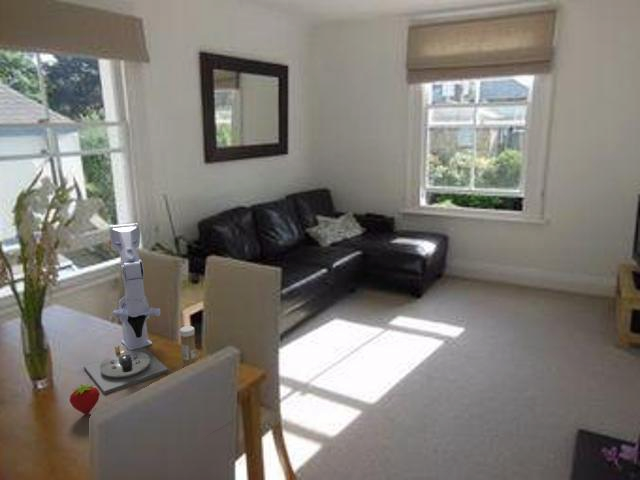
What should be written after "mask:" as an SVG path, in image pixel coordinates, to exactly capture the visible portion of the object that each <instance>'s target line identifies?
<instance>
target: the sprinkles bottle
mask: <svg viewBox="0 0 640 480" xmlns="http://www.w3.org/2000/svg"><path fill="white" fill-rule="evenodd" d="M179 334H180V342H181V345H180V346H181V354H182V355H181V357H182V367H183V368H184V367H185V366H188V365H190V364H192V363H195V362H196V363H197V352H196V342H195V341H196V340H195V339H196V338H195V327H194V326H192V325H185V326H183V327H181V328H180V329H179Z"/></svg>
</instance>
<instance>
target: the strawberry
mask: <svg viewBox="0 0 640 480" xmlns="http://www.w3.org/2000/svg"><path fill="white" fill-rule="evenodd" d="M72 391H73V392H71V394H70V396H69V403H70V404H71V406H72V407H73V408H74V409H75V410H77V411H78V412H80V413H82V414H84V415H88V414H89V413H91V411H92V410H93V409H94V407H95V406H96V405H97V403H98V401H99V398H100V391H99V388H96V387H94V385H89V384H86V385H83V383H80V387H76V388H73V389H72Z"/></svg>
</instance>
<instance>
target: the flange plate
mask: <svg viewBox="0 0 640 480" xmlns="http://www.w3.org/2000/svg"><path fill="white" fill-rule="evenodd" d="M130 351H131V352H130ZM130 351H124V350H120V353H119V354H116V353H115V354H113V355H111V356H109V357H107V358H104V359H105V360H104V359H103V360H104V361H103V362H102V363H101V365H100V371H101V374H102V375H103V376H105V377H107V378H113V379H120V378H127V377H131V376H135V375H137V374H140V373H141V372H143V371H145V370H146V369H147V368H148V367H149V365H150V358H149V356H148V355H147V354H145V353H143V352H136V351H133V350H130Z"/></svg>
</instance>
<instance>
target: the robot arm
mask: <svg viewBox="0 0 640 480" xmlns="http://www.w3.org/2000/svg"><path fill="white" fill-rule="evenodd" d="M108 228H109V236H110V237H109V238H110V242H111V247H112V250H114V251H117V252H118V254H119V256H120V261H121V265H120V269H121V277H122V281H123V285H124V294H125V295H124V296H123V297H122V298H121V299H119V302H118V309H114V310H113V312H112V317H113V318H114V319H116V318H118V317H119V319H120V320H119V321H120V322H121V323H122V324H121V325H122V334H123V335H122V336H123V339H121V341H120V342H121V343H122V344H123V345H124V346H125V347H126V348H127V349H128V350H129V351H133V350H136V349H140V348H143V347H144V348H145V347H147V346H150V345H152V344H153V342H152V341H151V340H150V339H148V329H147V321H148V319H149V318H150V317H151V316H155V317H160V315H161V308H159V307H158V308H156V307H150V306H149V302H148V298H147V297H146V295H145V285H144V279H145V269H144V268H145V267H144V264H143V261H142V259H140V254H139V250H138V249H137V248H139V247H140V244H141V243H140V242H141V233H140V225H139V224H138V222H135V223H126V224H124V223H122V224H110V225H109V227H108Z"/></svg>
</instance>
